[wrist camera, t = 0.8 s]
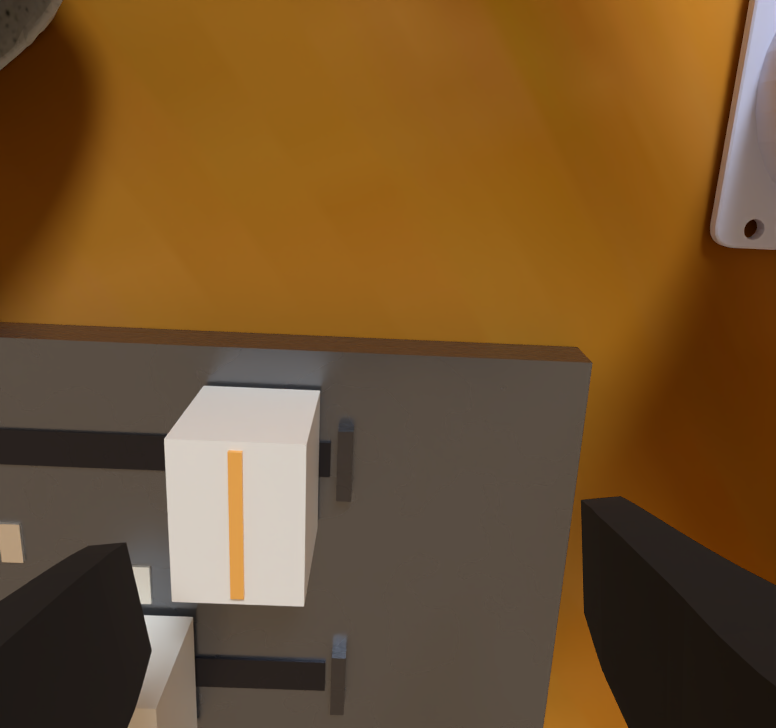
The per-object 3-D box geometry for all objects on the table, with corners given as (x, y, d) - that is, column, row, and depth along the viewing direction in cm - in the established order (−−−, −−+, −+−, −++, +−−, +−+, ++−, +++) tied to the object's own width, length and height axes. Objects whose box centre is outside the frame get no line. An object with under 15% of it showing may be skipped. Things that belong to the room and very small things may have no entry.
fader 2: (320, 390, 19) (305, 446, 15) (317, 528, 20) (303, 609, 16) (203, 385, 19) (162, 440, 15) (207, 524, 20) (170, 604, 16)
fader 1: (192, 616, 21) (154, 712, 17) (197, 730, 22) (162, 839, 18) (87, 613, 20) (27, 707, 17) (97, 726, 22) (43, 836, 18)
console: (577, 347, 20) (597, 368, 18) (529, 724, 24) (541, 775, 22) (-150, 315, 20) (-208, 334, 18) (-82, 704, 23) (-123, 754, 22)
